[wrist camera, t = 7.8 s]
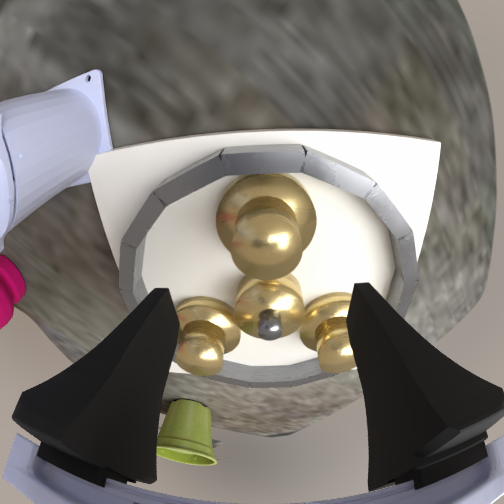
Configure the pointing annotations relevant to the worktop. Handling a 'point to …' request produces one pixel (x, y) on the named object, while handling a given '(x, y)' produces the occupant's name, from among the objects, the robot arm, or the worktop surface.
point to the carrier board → (314, 256)
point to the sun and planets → (263, 324)
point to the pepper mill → (9, 289)
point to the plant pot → (187, 434)
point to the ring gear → (269, 162)
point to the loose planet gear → (266, 223)
